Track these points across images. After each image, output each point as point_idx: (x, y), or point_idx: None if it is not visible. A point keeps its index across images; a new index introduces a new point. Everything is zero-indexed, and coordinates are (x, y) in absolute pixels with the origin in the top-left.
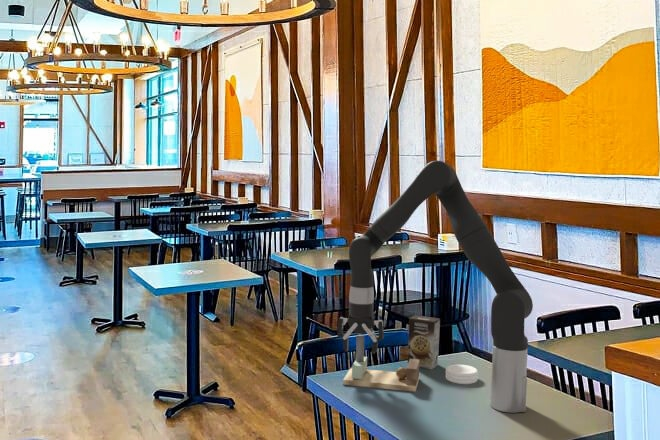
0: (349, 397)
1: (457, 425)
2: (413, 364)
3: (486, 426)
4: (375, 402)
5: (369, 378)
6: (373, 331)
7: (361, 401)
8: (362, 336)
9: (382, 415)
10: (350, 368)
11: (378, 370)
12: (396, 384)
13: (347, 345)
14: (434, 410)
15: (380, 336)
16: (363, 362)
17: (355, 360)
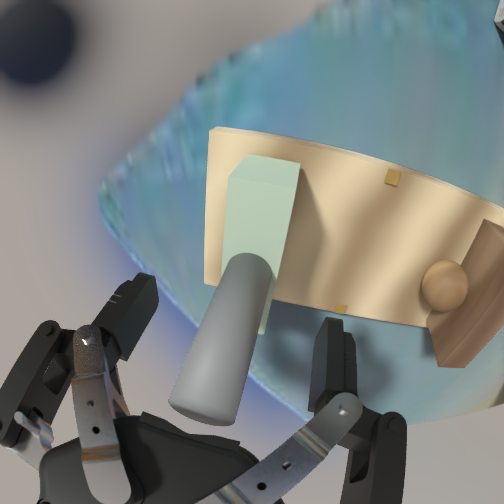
0: None
1: (422, 413)
2: (486, 330)
3: (456, 408)
4: (310, 371)
5: (307, 271)
6: (315, 464)
7: (276, 366)
8: (221, 424)
9: None
10: (210, 140)
11: (364, 161)
12: (396, 319)
13: (141, 325)
14: (421, 387)
15: (360, 459)
16: (270, 293)
17: (223, 263)
